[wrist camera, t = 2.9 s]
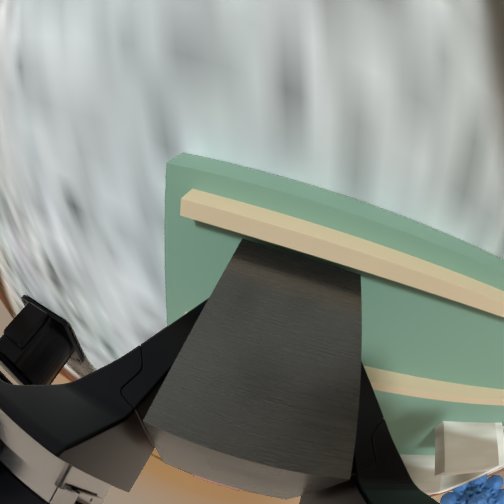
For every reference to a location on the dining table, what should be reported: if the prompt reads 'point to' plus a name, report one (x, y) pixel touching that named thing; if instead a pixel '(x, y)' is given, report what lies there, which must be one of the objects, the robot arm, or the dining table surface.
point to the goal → (457, 456)
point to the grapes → (477, 492)
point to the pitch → (372, 286)
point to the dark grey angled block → (267, 378)
